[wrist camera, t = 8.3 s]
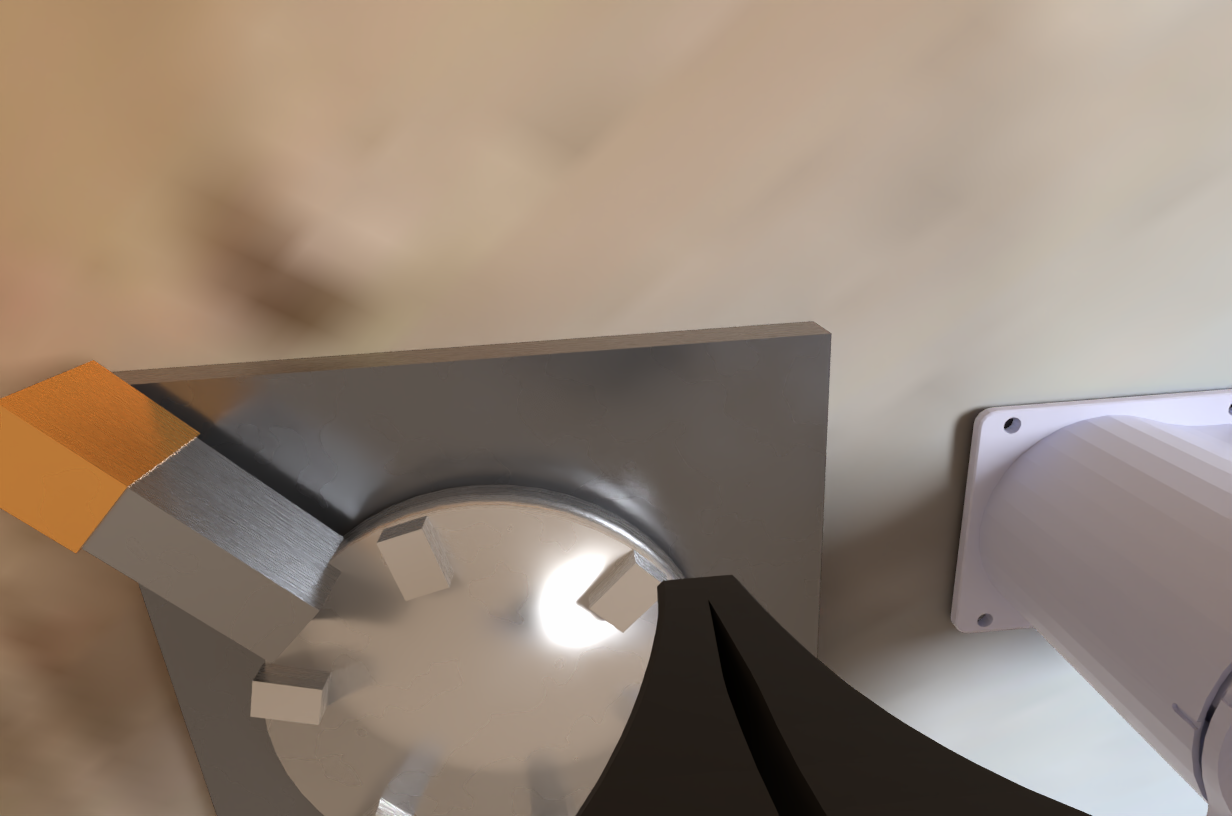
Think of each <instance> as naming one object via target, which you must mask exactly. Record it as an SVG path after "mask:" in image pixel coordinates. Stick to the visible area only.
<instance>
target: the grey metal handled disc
mask: <svg viewBox="0 0 1232 816" xmlns="http://www.w3.org/2000/svg"><path fill="white" fill-rule="evenodd" d="M199 434H200V433H199V432H198V431H196V430H195V429H193V428H192V427H190V426H189V425H188V424H186V423H185V422H183V421H182V420H180V419H179V418H177V417H176V416H174V415H173V414H171V413H170V412H169V411H167V410H166V409H164V408H163V407H161V406H160V405H158V404H157V403H155V402H154V401H152V400H151V399H150V398H148V397H147V396H145V395H144V394H142V393H141V392H139V391H138V390H136V389H135V388H133V387H132V386H131V385H129V384H128V383H126V382H125V381H123V380H122V379H120V378H119V377H117V376H116V375H114V374H113V373H112V372H110V371H109V370H107V369H106V368H104V367H103V366H101V365H100V364H98V363H97V362H95V361H94V360H93V361H90V362H88V363H86V364H83V365H81V366H78V367H76V368H74V369H71V370H69V371H66V372H64V373H62V374H59V375H57V376H54V377H52V378H49V379H47V380H45V381H42V382H40V383H37V384H35V385H33V386H30V387H28V388H25V389H23V390H21V391H18V392H16V393H13V394H11V395H9V396H6V397H4V398H1V399H0V508H1V509H3V510H4V511H6V512H8V513H9V514H11V515H13V516H14V517H16V518H18V519H19V520H21V521H23V522H24V523H26V524H28V525H29V526H31V527H33V528H34V529H36V530H38V531H39V532H41V533H43V534H44V535H46V536H48V537H49V538H51V539H53V540H54V541H56V542H58V543H59V544H61V545H63V546H64V547H66V548H68V549H69V550H71V551H73V552H74V553H77V552H78V551H80V550H81V549H83V550H85V551H87V552H88V553H90V554H91V555H93V556H95V557H96V558H98V559H100V560H101V561H103V562H105V563H106V564H108V565H110V566H111V567H113V568H115V569H116V570H118V571H120V572H121V573H123V574H125V575H126V576H128V577H129V578H131V579H133V580H134V581H136V582H138V583H139V584H141V585H143V586H144V587H146V588H148V589H149V590H151V591H153V592H154V593H156V594H158V595H159V596H161V597H163V598H164V599H166V600H167V601H169V602H171V603H172V604H174V605H176V606H177V607H179V608H181V609H182V610H184V611H186V612H187V613H189V614H191V615H192V616H194V617H196V618H197V619H199V620H201V621H202V622H204V623H206V624H207V625H209V626H210V627H212V628H214V629H215V630H217V631H219V632H220V633H222V634H224V635H225V636H227V637H229V638H230V639H232V640H234V641H235V642H237V643H239V644H240V645H242V646H244V647H245V648H247V649H248V650H250V651H252V652H253V653H255V654H257V655H258V656H260V657H262V658H263V659H265V663H263V665H262V666H261V668H260V670H259V671H258V673H257V674H256V676H255V678H254V679H253V681H252V697H251V713H250V717H258V718H265V720H266V725H267V730H268V733H269V736H270V738H271V741H272V744H273V747H274V750H275V752H276V754H277V756H278V758H279V760H280V761H281V763H282V765H283V767H284V769H285V771H286V773H287V774H288V776H289V777H290V778H291V780H292V781H293V782H294V784H295V785H296V786H297V788H298V789H299V790H300V792H301V793H302V794H303V795H304V796H305V797H306V798H307V799H308V800H309V801H310V802H311V803H312V804H313V805H314V806H315V808H316V809H317V810H318V811H319V812H321V813H322V814H323V815H324V816H576V814H577V813H578V811H579V809H580V808H581V806H582V805H583V803H584V802H585V800H586V798H587V797H588V795H589V794H590V792H591V791H592V789H593V787H594V786H595V784H596V783H597V781H598V779H599V777H600V776H601V774H602V772H603V770H604V768H605V766H606V765H607V763H608V761H609V759H610V757H611V755H612V753H613V751H614V749H615V747H616V745H617V743H618V741H619V739H620V737H621V735H622V732H623V730H624V728H625V726H626V723H627V721H628V719H629V716H630V714H631V711H632V709H633V706H634V704H635V701H636V699H637V696H638V693H639V690H640V687H641V684H642V681H643V678H644V674H645V671H646V668H647V665H648V662H649V658H650V654H651V650H652V645H653V641H654V636H655V632H656V626H657V619H658V600H657V586H658V585H659V584H660V583H661V582H662V581H663V580H674V579H685V577H684V576H683V574H682V572H681V571H680V570H679V569H678V567H677V566H676V565H675V564H674V563H673V561H672V560H671V559H670V558H669V556H668V555H667V554H666V553H665V552H664V551H663V550H662V549H661V548H660V547H659V546H658V545H657V544H655V543H654V542H653V541H652V540H651V539H650V538H649V537H648V536H647V535H646V534H644V533H643V532H641V531H640V530H639V529H637V528H636V527H634V526H633V525H631V524H630V523H628V522H627V521H625V520H624V519H622V518H621V517H619V516H617V515H615V514H613V513H611V512H609V511H607V510H605V509H603V508H601V507H599V506H597V505H595V504H592V503H590V502H587V501H584V500H581V499H579V498H576V497H573V496H570V495H567V494H563V493H559V492H554V491H550V490H546V489H541V488H535V487H526V486H517V485H472V486H464V487H456V488H448V489H443V490H440V491H436V492H432V493H428V494H424V495H420V496H416V497H414V498H411V499H409V500H406V501H403V502H401V503H398V504H396V505H393V506H390V507H388V508H387V509H385V510H383V511H381V512H379V513H377V514H376V515H374V516H372V517H370V518H368V519H366V520H365V521H363V522H362V523H360V524H359V525H358V526H356V527H355V528H354V529H352V530H351V531H350V532H348V533H347V534H345V535H344V536H343V537H342V536H340V535H339V534H337V533H336V532H335V531H333V530H332V529H330V528H329V527H327V526H326V525H324V524H323V523H321V522H320V521H318V520H317V519H315V518H314V517H313V516H311V515H310V514H308V513H307V512H305V511H304V510H302V509H301V508H299V507H298V506H296V505H295V504H293V503H292V502H291V501H289V500H288V499H286V498H285V497H283V496H282V495H280V494H279V493H277V492H276V491H274V490H273V489H271V488H270V487H268V486H267V485H266V484H264V483H263V482H261V481H260V480H258V479H257V478H255V477H254V476H252V475H251V474H249V473H248V472H246V471H245V470H244V469H242V468H241V467H239V466H238V465H236V464H235V463H233V462H232V461H230V460H229V459H227V458H226V457H224V456H223V455H222V454H220V453H219V452H217V451H216V450H214V449H213V448H211V447H210V446H208V445H207V444H205V443H204V442H202V441H201V440H200V439H198V438H197V437H198V436H199Z"/></svg>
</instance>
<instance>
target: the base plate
mask: <svg viewBox="0 0 1232 816" xmlns="http://www.w3.org/2000/svg"><path fill="white" fill-rule="evenodd" d="M830 355H831V333H830V332H828V331H827V330H825V329H824V328H823V327H821V326H820V325H818V324H817V323H815V322H814V321H813V322H799V323H785V324H771V325H758V326H744V327H730V328H716V329H702V330H688V331H675V332H661V333H647V334H633V335H619V336H605V337H592V338H578V339H564V340H550V341H536V342H522V343H509V344H495V345H481V346H467V347H453V348H439V349H426V350H412V351H398V352H384V353H370V354H356V355H342V356H329V357H315V358H301V359H287V360H273V361H259V362H246V363H232V364H218V365H204V366H190V367H176V368H163V369H149V370H135V371H121V372H112V373H113V374H114V375H116V376H117V377H119V378H120V379H122V380H123V381H125V382H126V383H128V384H129V385H131V386H132V387H133V388H135V389H136V390H138V391H139V392H141V393H142V394H144V395H145V396H147V397H148V398H150V399H151V400H152V401H154V402H155V403H157V404H158V405H160V406H161V407H163V408H164V409H166V410H167V411H169V412H170V413H171V414H173V415H174V416H176V417H177V418H179V419H180V420H182V421H183V422H185V423H186V424H188V425H189V426H190V427H192V428H193V429H195V430H196V431H198V432H199V433H200V434H199V436H198V437H197V438H198V439H200V440H201V441H202V442H204V443H205V444H207V445H208V446H210V447H211V448H213V449H214V450H216V451H217V452H219V453H220V454H222V455H223V456H224V457H226V458H227V459H229V460H230V461H232V462H233V463H235V464H236V465H238V466H239V467H241V468H242V469H244V470H245V471H246V472H248V473H249V474H251V475H252V476H254V477H255V478H257V479H258V480H260V481H261V482H263V483H264V484H266V485H267V486H268V487H270V488H271V489H273V490H274V491H276V492H277V493H279V494H280V495H282V496H283V497H285V498H286V499H288V500H289V501H291V502H292V503H293V504H295V505H296V506H298V507H299V508H301V509H302V510H304V511H305V512H307V513H308V514H310V515H311V516H313V517H314V518H315V519H317V520H318V521H320V522H321V523H323V524H324V525H326V526H327V527H329V528H330V529H332V530H333V531H335V532H336V533H337V534H339V535H340V536H342V537H343V536H344V535H345V534H347V533H348V532H350V531H351V530H352V529H354V528H355V527H356V526H358V525H359V524H360V523H362V522H363V521H365V520H366V519H368V518H370V517H372V516H374V515H376V514H377V513H379V512H381V511H383V510H385V509H387V508H388V507H390V506H393V505H396V504H398V503H401V502H403V501H406V500H409V499H411V498H414V497H416V496H420V495H424V494H428V493H432V492H436V491H440V490H443V489H448V488H456V487H464V486H472V485H517V486H526V487H535V488H541V489H546V490H550V491H554V492H559V493H563V494H567V495H570V496H573V497H576V498H579V499H581V500H584V501H587V502H590V503H592V504H595V505H597V506H599V507H601V508H603V509H605V510H607V511H609V512H611V513H613V514H615V515H617V516H619V517H621V518H622V519H624V520H625V521H627V522H628V523H630V524H631V525H633V526H634V527H636V528H637V529H639V530H640V531H641V532H643V533H644V534H646V535H647V536H648V537H649V538H650V539H651V540H652V541H653V542H654V543H655V544H657V545H658V546H659V547H660V548H661V549H662V550H663V551H664V552H665V553H666V554H667V555H668V556H669V558H670V559H671V560H672V561H673V563H674V564H675V565H676V566H677V567H678V569H679V570H680V571H681V572H682V574H683V576H684V577H685V579H686V578H698V577H710V576H722V575H733V576H734V577H735V578H737V579H738V580H739V581H740V582H741V584H742V585H743V586H744V587H745V588H746V589H747V590H748V591H749V592H750V593H751V594H752V596H753V597H754V598H755V599H756V600H757V601H758V602H759V603H760V604H761V605H762V606H763V607H764V608H765V609H766V610H767V611H768V612H769V613H770V614H771V615H772V616H773V618H774V619H775V620H776V621H778V622H779V623H780V624H781V625H782V626H783V627H784V628H785V629H786V630H787V631H788V632H789V633H790V634H791V635H792V636H793V637H794V638H795V639H796V640H797V641H798V642H799V643H801V644H802V645H803V646H804V647H805V648H806V649H807V650H808V651H809V652H810V653H811V654H813V655H814V656H815V657H816V658H817V646H818V624H819V602H820V579H821V557H822V534H823V512H824V489H825V467H826V445H827V422H828V400H829V377H830ZM138 584H139V583H138ZM139 587H140V590H141V592H142V595H143V598H144V601H145V604H146V607H147V610H148V613H149V616H150V619H151V622H152V625H153V628H154V631H155V634H156V637H157V640H158V643H159V646H160V649H161V652H162V655H163V658H164V661H165V663H166V666H167V669H168V672H169V675H170V678H171V681H172V684H173V687H174V690H175V693H176V696H177V699H178V702H179V705H180V708H181V711H182V714H183V717H184V720H185V723H186V726H187V729H188V731H189V734H190V737H191V740H192V743H193V746H194V749H195V752H196V755H197V758H198V761H199V764H200V767H201V770H202V773H203V776H204V779H205V782H206V785H207V788H208V791H209V794H210V797H211V800H212V802H213V805H214V808H215V811H216V814H217V816H324V815H323V814H322V813H321V812H319V811H318V810H317V809H316V808H315V806H314V805H313V804H312V803H311V802H310V801H309V800H308V799H307V798H306V797H305V796H304V795H303V794H302V793H301V792H300V790H299V789H298V788H297V786H296V785H295V784H294V782H293V781H292V780H291V778H290V777H289V776H288V774H287V773H286V771H285V769H284V767H283V765H282V763H281V761H280V760H279V758H278V756H277V754H276V752H275V750H274V747H273V744H272V741H271V738H270V736H269V733H268V730H267V725H266V720H265V718H258V717H250V713H251V697H252V681H253V679H254V678H255V676H256V674H257V673H258V671H259V670H260V668H261V666H262V665H263V663H265V659H263V658H262V657H260V656H258V655H257V654H255V653H253V652H252V651H250V650H248V649H247V648H245V647H244V646H242V645H240V644H239V643H237V642H235V641H234V640H232V639H230V638H229V637H227V636H225V635H224V634H222V633H220V632H219V631H217V630H215V629H214V628H212V627H210V626H209V625H207V624H206V623H204V622H202V621H201V620H199V619H197V618H196V617H194V616H192V615H191V614H189V613H187V612H186V611H184V610H182V609H181V608H179V607H177V606H176V605H174V604H172V603H171V602H169V601H167V600H166V599H164V598H163V597H161V596H159V595H158V594H156V593H154V592H153V591H151V590H149V589H148V588H146V587H144V586H143V585H141V584H139Z"/></svg>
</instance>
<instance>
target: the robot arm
mask: <svg viewBox="0 0 1232 816" xmlns="http://www.w3.org/2000/svg"><path fill="white" fill-rule="evenodd" d="M1231 404H1232V389H1224V390H1211V391H1198V392H1185V393H1172V394H1159V395H1146V396H1133V397H1120V398H1107V399H1094V400H1081V401H1068V402H1055V403H1042V404H1029V405H1016V406H1003V407H991V408H987V409H985V410H983V411H982V412H980V413H979V414H978V416H977V417H976V419H975V422H974V426H973V434H972V443H971V451H970V459H969V468H968V476H967V484H966V493H965V501H964V509H963V518H962V526H961V534H960V543H959V551H958V559H957V568H956V576H955V584H954V593H953V601H952V609H951V622H952V623H953V624H954V626H955V627H956V628H957V629H958V630H959V631H961V632H962V633H975V632H986V631H998V630H1009V629H1020V628H1032V627H1034V628H1035V629H1036V630H1037V631H1038V632H1039V633H1040V634H1041V635H1042V636H1043V637H1044V638H1045V639H1046V640H1047V641H1048V642H1049V643H1050V644H1051V645H1052V646H1053V647H1054V648H1055V649H1056V650H1057V651H1058V652H1059V653H1060V654H1061V655H1062V656H1063V657H1064V658H1065V659H1066V660H1067V661H1068V662H1069V663H1070V664H1071V665H1072V666H1073V667H1074V668H1075V670H1076V671H1077V672H1078V673H1079V674H1080V675H1081V676H1082V677H1083V678H1084V679H1085V680H1086V681H1087V682H1088V683H1089V684H1090V685H1091V686H1092V687H1093V688H1094V689H1095V690H1096V691H1097V692H1098V693H1099V694H1100V695H1101V696H1102V697H1103V698H1104V699H1105V700H1106V701H1107V702H1108V703H1109V704H1110V705H1111V706H1112V707H1113V708H1114V709H1115V710H1116V711H1117V712H1118V713H1119V714H1120V715H1121V716H1122V717H1123V718H1124V719H1125V720H1126V721H1127V722H1128V723H1129V724H1130V725H1131V726H1132V727H1133V728H1134V729H1135V730H1136V731H1137V732H1138V733H1139V734H1140V735H1141V736H1142V737H1143V738H1144V740H1145V741H1146V742H1147V743H1148V744H1149V745H1150V746H1151V747H1152V748H1153V749H1154V750H1155V751H1156V752H1157V753H1158V754H1159V755H1160V756H1161V757H1162V758H1163V759H1164V760H1165V761H1166V762H1167V763H1168V764H1169V765H1170V766H1171V767H1172V768H1173V769H1174V770H1175V771H1176V772H1177V773H1178V774H1179V775H1180V776H1181V777H1182V778H1183V779H1184V780H1185V781H1186V782H1187V783H1188V784H1189V785H1190V786H1191V787H1192V788H1193V789H1194V790H1195V791H1196V792H1197V793H1198V794H1199V795H1200V796H1201V797H1202V798H1203V799H1204V800H1205V801H1206V802H1207V803H1208V812H1207V815H1206V816H1232V408H1231V409H1229V407H1230V405H1231ZM1010 418H1013V422H1012V425H1011V426H1009V427H1008V428H1006V429H1004V424H1005V422H1006V421H1007V420H1008V419H1010ZM657 600H658V619H657V626H656V632H655V636H654V641H653V645H652V650H651V654H650V658H649V662H648V665H647V668H646V671H645V674H644V678H643V681H642V684H641V687H640V690H639V693H638V696H637V699H636V701H635V704H634V706H633V709H632V711H631V714H630V716H629V719H628V721H627V723H626V726H625V728H624V730H623V732H622V735H621V737H620V739H619V741H618V743H617V745H616V747H615V749H614V751H613V753H612V755H611V757H610V759H609V761H608V763H607V765H606V766H605V768H604V770H603V772H602V774H601V776H600V777H599V779H598V781H597V783H596V784H595V786H594V787H593V789H592V791H591V792H590V794H589V795H588V797H587V798H586V800H585V802H584V803H583V805H582V806H581V808H580V809H579V811H578V813H577V814H576V816H1092V815H1089V814H1087V813H1085V812H1082V811H1080V810H1077V809H1075V808H1073V807H1070V806H1068V805H1065V804H1063V803H1061V802H1058V801H1056V800H1053V799H1051V798H1048V797H1046V796H1044V795H1041V794H1039V793H1036V792H1034V791H1032V790H1029V789H1027V788H1025V787H1023V786H1021V785H1018V784H1016V783H1014V782H1012V781H1010V780H1008V779H1006V778H1004V777H1002V776H1000V775H998V774H996V773H994V772H992V771H990V770H988V769H986V768H984V767H982V766H980V765H977V764H976V763H974V762H972V761H970V760H968V759H966V758H964V757H962V756H961V755H959V754H957V753H955V752H953V751H951V750H949V749H948V748H946V747H944V746H942V745H941V744H939V743H937V742H936V741H934V740H932V739H930V738H929V737H927V736H925V735H924V734H922V733H920V732H919V731H917V730H915V729H913V728H912V727H910V726H908V725H907V724H905V723H904V722H902V721H901V720H899V719H897V718H896V717H894V716H893V715H891V714H890V713H888V712H887V711H885V710H884V709H882V708H881V707H880V706H878V705H877V704H875V703H874V702H872V701H871V700H870V699H868V698H867V697H865V696H864V695H862V694H861V693H860V692H858V691H857V690H855V689H854V688H853V687H851V686H850V685H849V684H847V683H846V682H845V681H843V680H842V679H841V678H840V677H838V676H837V675H836V674H835V673H834V672H832V671H831V670H830V669H829V668H828V667H826V666H825V665H824V664H823V663H822V662H821V661H819V660H818V659H817V658H816V657H815V656H814V655H813V654H811V653H810V652H809V651H808V650H807V649H806V648H805V647H804V646H803V645H802V644H801V643H799V642H798V641H797V640H796V639H795V638H794V637H793V636H792V635H791V634H790V633H789V632H788V631H787V630H786V629H785V628H784V627H783V626H782V625H781V624H780V623H779V622H778V621H776V620H775V619H774V618H773V616H772V615H771V614H770V613H769V612H768V611H767V610H766V609H765V608H764V607H763V606H762V605H761V604H760V603H759V602H758V601H757V600H756V599H755V598H754V597H753V596H752V594H751V593H750V592H749V591H748V590H747V589H746V588H745V587H744V586H743V585H742V584H741V582H740V581H739V580H738V579H737V578H735V577H734V576H733V575H722V576H710V577H698V578H686V579H674V580H663V581H662V582H661V583H660V584H659V585H658V586H657ZM983 614H986V615H985V616H984V617H983V618H982V619H978V618H979V617H980V616H981V615H983Z"/></svg>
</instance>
